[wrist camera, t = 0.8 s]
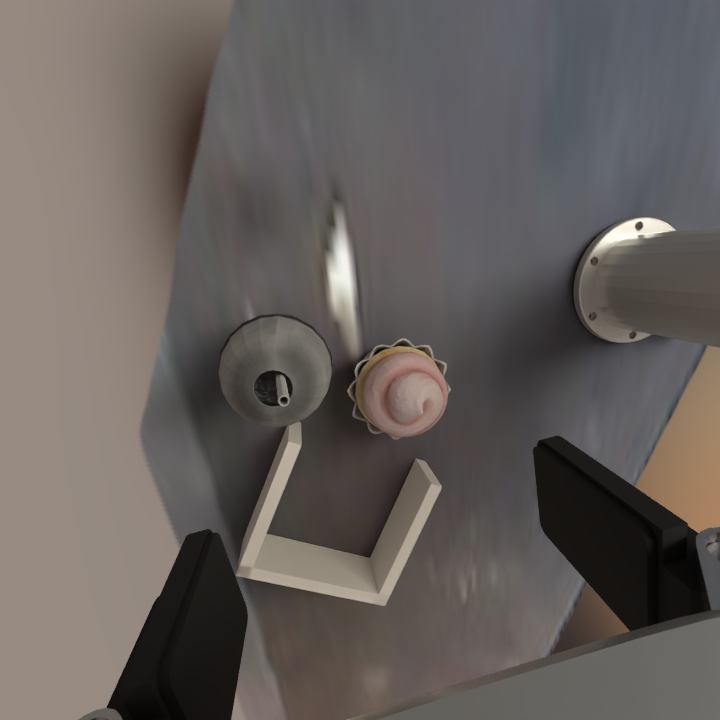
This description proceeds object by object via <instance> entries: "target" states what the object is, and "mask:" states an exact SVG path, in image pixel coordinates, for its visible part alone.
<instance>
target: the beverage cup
mask: <svg viewBox="0 0 720 720" xmlns="http://www.w3.org/2000/svg"><path fill="white" fill-rule="evenodd" d="M218 369H219V379H220V384H221V390H222V393H223V394H224V396H225V398H226V400H227V402H228V403H229V405H230V407H231V408H233V409H234V410H235V411H236V412H237V413H238V414H239V415H240V416H241V417H242V418H244V419H246V420H248V421H250V422H252V423H254V424H256V425H260V426H266V427H273V428H275V427H282V426H290V425H292V424H294V423H296V422H299V421H301V420H303V419H305V418H307V417H308V416H309V415H310V414H311V413H312V412H314V411H315V410H316V409H317V408H318V407H319V405H320V404H321V402H322V400H323V399H324V397H325V395H326V394H327V392H328V389H329V387H330V383H331V379H332V374H333V366H332V356H331V353H330V351H329V349H328V346H327V344H326V342H325V340H324V339H323V338H322V336H321V335H320V334H319V333H318V332H317V331H316V330H315V329H314V328H313V327H312V326H311V325H309V324H307V323H305V322H303V321H302V320H300V319H298V318H296V317H294V316H293V315H288V314H272V315H261V316H258V317H256V318H253V319H251V320H249V321H247V322H244V323H243V324H241V325H240V326H239V327H238V328H237V329H236V330H235V331H234V332H233V333H231V334H230V335H229V337H228V339H227V341H226V343H225V344H224V346H223V348H222V350H221V354H220V360H219V366H218Z"/></svg>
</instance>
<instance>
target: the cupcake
mask: <svg viewBox="0 0 720 720" xmlns="http://www.w3.org/2000/svg"><path fill="white" fill-rule="evenodd" d="M446 369H447V364H446V363H445V362H443V361H440V360H437V359H434V356H433V352H432V349H431V348H430V346H429V345H420V346H414V345H413V344H412V343H411V342H410V341H409V340H407V339H405V338H402V339H400V340H398V341H397V342H395V343H394V344H393V345H378V346H376V347H375V348H374V349H373V350H372V351H371V352H369V353H368V354H367V355H366V356H365V357H364V359H363V360H362V361H360V362H359V363H358V364H357V366H356V368H355V376H356V378H355V380H354V381H353V382H352V384H351V385H350V386H349V388H348V390H347V392H348V394H349V396H350V397H351V398H352V400H353V401H354V402H355V405H354V409H353V417H354V418H356V419H358V420H362V421H365V422H366V423H367V426H368V429H369V431H370V432H371V433H374V434H380V433H384V432H386V433H387V434H388V435H390V436H391V437H392V438H393V439H396V440H398V439H400V438H401V437H410V436H415V435H418V434H421V433H423V432H425V431H427V430H429V429H430V428H431V427H432V426H434V425H435V424H436V423H437V421H438V420H439V419H440V418H441V416H442V415H443V413H444V410H445V408H446V405H447V398H448V394H449V392H450V391H451V388H450V386H449V385H448V383H447V382H446V381H445V379H444V376H445V372H446Z"/></svg>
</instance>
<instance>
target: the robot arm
mask: <svg viewBox="0 0 720 720" xmlns="http://www.w3.org/2000/svg"><path fill="white" fill-rule="evenodd" d="M573 297H574V303H575V308H576V311H577V314H578V316H579V319H580V320H581V322H582V323H583V325H584V326H585V327H586V328H587V329H588V330H589V331H590V332H591V333H592V334H594V335H595V336H597V337H599V338H601V339H604V340H607V341H611V342H617V343H630V342H635V341H639V340H641V339H644V338H646V337H648V336H650V335H652V334H653V335H658V336H663V337H668V338H673V339H678V340H683V341H689V342H694V343H699V344H704V345H709V346H714V347H719V348H720V227H709V228H698V229H687V230H675V229H674V228H673V227H672V226H670V225H669V224H668V223H666V222H664V221H661V220H659V219H656V218H649V217H642V218H633V219H628V220H623V221H621V222H618V223H616V224H614V225H612V226H610V227H609V228H607V229H606V230H604V231H603V232H602V233H601V234H600V235H599V236H598V237H596V238H595V239H594V240H593V242H592V243H591V244H590V246H589V247H588V248H587V250H586V251H585V253H584V255H583V257H582V259H581V260H580V263H579V266H578V268H577V271H576V275H575V280H574V295H573ZM533 455H534V465H535V475H536V486H537V496H538V506H539V517H540V524H541V527H542V529H543V531H544V533H545V534H546V536H547V537H548V538H549V539H550V540H551V541H552V543H553V544H554V545H555V546H556V547H557V548H558V549H559V551H560V552H561V553H562V554H563V555H564V556H565V557H566V559H567V560H568V561H569V562H570V563H571V564H572V565H573V567H574V568H575V569H576V570H577V571H578V572H579V573H580V574H581V576H582V577H583V578H584V579H585V580H586V581H587V582H588V584H589V585H590V586H591V587H592V588H593V589H594V590H595V592H596V593H597V594H598V595H599V596H600V597H601V598H602V599H603V600H604V602H605V603H606V604H607V605H608V606H609V608H610V609H611V610H612V611H613V612H614V613H615V614H616V615H617V617H618V618H619V619H620V620H621V621H622V622H623V623H624V625H625V626H626V627H627V628H628V629H629V630H630V632H626V633H623V634H619V635H616V636H613V637H609V638H606V639H603V640H599V641H596V642H593V643H590V644H587V645H583V646H580V647H577V648H573V649H570V650H567V651H564V652H560V653H557V654H554V655H550V656H547V657H544V658H541V659H537V660H534V661H531V662H528V663H524V664H521V665H518V666H515V667H511V668H508V669H505V670H502V671H499V672H495V673H492V674H489V675H486V676H483V677H479V678H476V679H473V680H470V681H467V682H463V683H460V684H457V685H454V686H451V687H447V688H444V689H441V690H438V691H435V692H432V693H428V694H425V695H422V696H419V697H416V698H413V699H409V700H406V701H403V702H400V703H397V704H394V705H390V706H387V707H384V708H381V709H378V710H375V711H372V712H369V713H365V714H362V715H359V716H356V717H353V718H350V719H347V720H720V527H714V528H708V529H705V530H703V531H701V532H700V533H697V532H696V531H694V530H693V529H691V528H690V527H689V526H688V524H687V522H685V521H684V520H682V519H680V518H679V517H678V516H676V515H674V514H673V513H672V512H670V511H669V510H667V509H666V508H665V507H663V506H662V505H660V504H659V503H657V502H656V501H654V500H653V499H651V498H650V497H648V496H647V495H645V494H644V493H642V492H641V491H640V490H638V489H637V488H635V487H634V486H632V485H631V484H629V483H628V482H626V481H625V480H624V479H622V478H621V477H619V476H618V475H616V474H615V473H613V472H612V471H610V470H609V469H607V468H606V467H605V466H603V465H602V464H600V463H599V462H597V461H596V460H594V459H593V458H591V457H590V456H588V455H587V454H585V453H584V452H583V451H581V450H580V449H578V448H577V447H575V446H574V445H572V444H571V443H569V442H568V441H566V440H565V439H564V438H562V437H560V436H554V437H550V438H546V439H543V440H539V441H538V444H537V446H536V447H534V449H533ZM247 620H248V614H247V607H246V604H245V601H244V599H243V596H242V593H241V591H240V588H239V585H238V583H237V580H236V577H235V575H234V572H233V569H232V567H231V564H230V561H229V559H228V556H227V553H226V551H225V548H224V545H223V543H222V540H221V537H220V535H219V534H218V533H213V532H212V531H211V530H210V529H207V530H203V531H199V532H196V533H192V534H189V535H187V536H186V538H185V540H184V543H183V545H182V547H181V549H180V552H179V554H178V556H177V558H176V561H175V563H174V565H173V567H172V570H171V572H170V574H169V576H168V579H167V581H166V583H165V585H164V588H163V590H162V592H161V594H160V596H159V597H158V598H157V599H156V601H155V602H154V604H153V606H152V609H151V610H150V613H149V615H148V617H147V619H146V622H145V624H144V626H143V628H142V630H141V633H140V635H139V637H138V639H137V641H136V644H135V646H134V648H133V650H132V653H131V655H130V657H129V659H128V662H127V663H126V666H125V668H124V670H123V672H122V675H121V677H120V679H119V681H118V683H117V686H116V688H115V690H114V692H113V694H112V697H111V699H110V701H109V704H108V705H107V708H104V709H100V710H95V711H93V712H91V713H89V714H87V715H85V716H83V717H82V718H80V719H79V720H231V716H232V710H233V704H234V698H235V692H236V686H237V680H238V674H239V669H240V663H241V657H242V651H243V645H244V639H245V633H246V627H247Z"/></svg>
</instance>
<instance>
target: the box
mask: <svg viewBox="0 0 720 720" xmlns="http://www.w3.org/2000/svg"><path fill="white" fill-rule="evenodd" d="M301 446H302V441H301V422H296V423H294V424H292V425H290V426H287V427H286V430H285V432H284V435H283V437H282V440H281V442H280V445H279V448H278V450H277V453H276V455H275V458H274V460H273V463H272V466H271V468H270V471H269V473H268V476H267V478H266V481H265V484H264V486H263V489H262V491H261V494H260V496H259V499H258V502H257V504H256V507H255V509H254V512H253V514H252V517H251V520H250V522H249V525H248V527H247V530H246V532H245V535H244V538H243V542H242V547H241V552H240V557H239V562H238V567H237V572H236V576H239V577H244V578H249V579H254V580H259V581H264V582H269V583H273V584H278V585H283V586H288V587H293V588H298V589H303V590H308V591H313V592H318V593H323V594H328V595H332V596H337V597H342V598H347V599H352V600H357V601H362V602H367V603H372V604H377V605H382V606H385V605H386V603H387V601H388V599H389V597H390V595H391V593H392V591H393V589H394V586H395V584H396V582H397V580H398V578H399V576H400V574H401V572H402V570H403V568H404V566H405V564H406V561H407V559H408V557H409V555H410V553H411V551H412V549H413V547H414V545H415V543H416V541H417V539H418V536H419V534H420V532H421V530H422V528H423V526H424V524H425V522H426V520H427V518H428V516H429V514H430V511H431V509H432V507H433V505H434V503H435V501H436V499H437V497H438V495H439V493H440V491H441V489H442V486H441V484H440V483H439V481H438V480H437V478H436V477H435V475H434V474H433V472H432V471H431V469H430V468H429V466H428V464H427V463H426V461H423V460H420V459H417V458H416V459H415V461H414V463H413V465H412V467H411V470H410V472H409V474H408V476H407V478H406V480H405V483H404V485H403V487H402V489H401V491H400V493H399V496H398V498H397V500H396V502H395V504H394V507H393V509H392V511H391V513H390V515H389V517H388V520H387V522H386V524H385V526H384V528H383V530H382V533H381V535H380V537H379V539H378V541H377V543H376V546H375V548H374V550H373V552H372V554H371V557H370V558H369V557H364V556H360V555H356V554H351V553H347V552H343V551H339V550H334V549H330V548H326V547H322V546H317V545H313V544H309V543H304V542H300V541H296V540H292V539H287V538H283V537H279V536H275V535H270V534H266V533H267V531H268V528H269V526H270V523H271V521H272V518H273V516H274V513H275V511H276V508H277V506H278V503H279V501H280V498H281V496H282V493H283V491H284V488H285V486H286V483H287V481H288V478H289V476H290V473H291V471H292V468H293V466H294V463H295V461H296V458H297V456H298V453H299V451H300V448H301Z"/></svg>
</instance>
